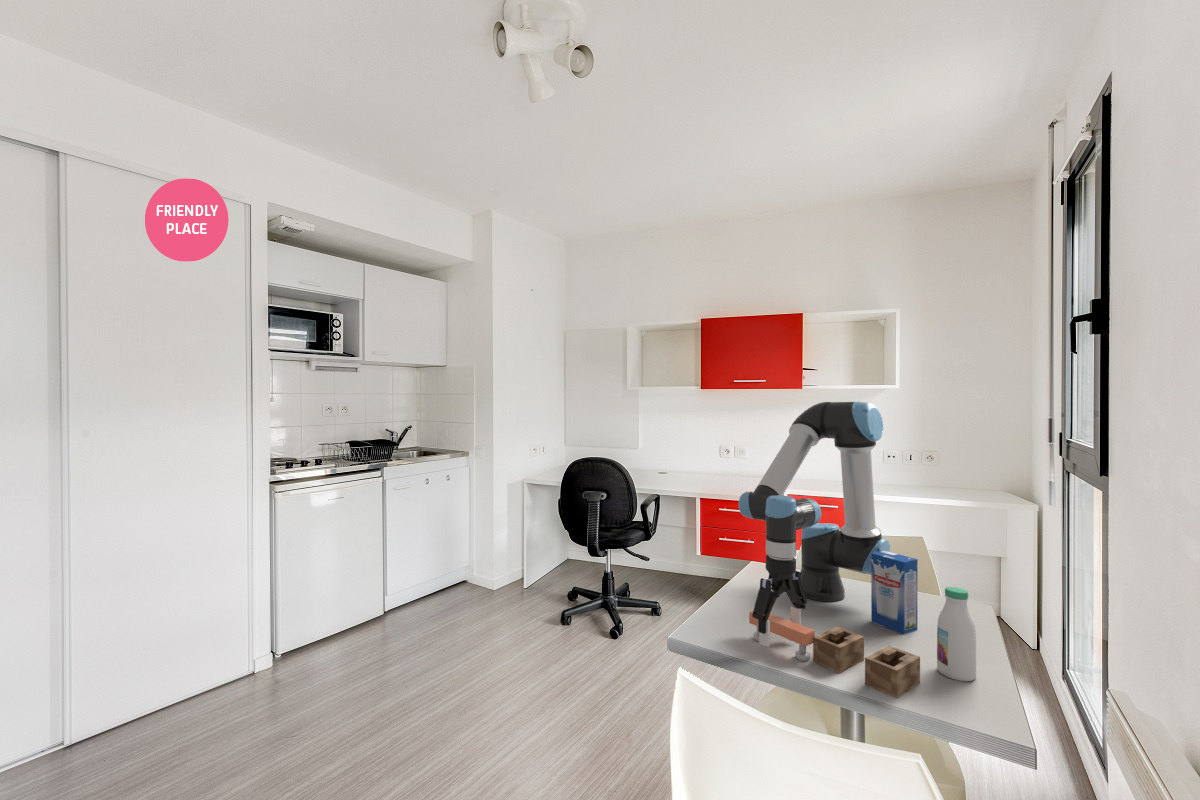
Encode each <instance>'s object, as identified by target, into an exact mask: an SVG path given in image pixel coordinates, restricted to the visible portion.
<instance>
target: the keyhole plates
mask: <svg viewBox="0 0 1200 800" xmlns="http://www.w3.org/2000/svg"><path fill="white" fill-rule="evenodd" d="M812 646H813V647H812V662H813V663H815V664H818V665H820V666H822V667H824V668H827V669H829V670H832V671H833V672H836V673H838V674H841V673H843V672H845V671H847V670H849V669H851V668H853V667H855V666H857V665H858V664H861V663H862V662H864V685H866V686H868V687H871V688H872V689H874V690H877V691H879V692H881V693H883V694H886V695H888V696H891V697H892V698H896V699H898V698H900V697H902V696H903V695H904V694H906V693H908V692H909V691H910V690H912V689H914V688H916V686H919V685H920V684H921V656H919V655H916V654H913V653H911V652H907V651H905V650H902V649H900V648H896V647H893V646H891V645H886V646H885V647H883V648H882V649H879V650H878V651H875V652H873V653H872V654H870V655H868V656H866V657H865V636H863V635H860V634H859V633H856V632H853V631H851V630H848V629H845V628H842V627H840V626H835V627H833V628H831V629H828V630H827V631H824V632H821V633H820V634H817V635H815V637H813V643H812Z"/></svg>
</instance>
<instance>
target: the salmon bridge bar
mask: <svg viewBox="0 0 1200 800" xmlns="http://www.w3.org/2000/svg"><path fill="white" fill-rule="evenodd" d="M748 614H749V615H748V622H749V623H748V624H751V625H753V626H756V632H753V637H752V638H753V641H755V642H758V643H759V631H758V619H756V618H753V617H752V614H753V610H751V611H749V613H748ZM757 614H758V613H757ZM764 615H765V614H764ZM768 620H769V621H770V633H772V634H775V635H776V636H779V637H781V638H784V639H787V640H789V641H791V642H794V643H795V644H798V645H799V646H798V647H799V648H798V650H796V651H795V659H796V660H798V661H800V662H804V663H805V662H809V661H810V660H811V653H810V652H808V651H807V646H810V645H813V637H815V636H816V635H815V633H816V632H815V631H816V630H815V629H812V628H809V627H807V626H804V625H802V624H801V625H800V624H797V623H794V622H792V621H791V620H789V619H786V618H784V617H781V616H778V615H776V614H773V613H770V615H769V617H768Z"/></svg>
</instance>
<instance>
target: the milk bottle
mask: <svg viewBox="0 0 1200 800" xmlns="http://www.w3.org/2000/svg"><path fill="white" fill-rule="evenodd" d="M944 594H945V595H944V597H945V603H944V604H943V607H942V610H941V611H940V612H939V615H938V618H937V624H936V625H937V627H936V628H937V629H936V631H937V632H936V634H937V635H936V653H937V654H936V667H937V670H938V672H939V673H940V674H941V675H943V676H945V677H947V678H950V679H952V680H956V681H960V682H973V681H975V679H976V678H977V629H976V623H975V620H974V617H973V616H972V614H971V611H970V609H969V606H968V602H969V592H968V590H966V589H964V588H962V587H957V586H946V587H944Z"/></svg>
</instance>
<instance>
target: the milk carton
mask: <svg viewBox="0 0 1200 800" xmlns="http://www.w3.org/2000/svg"><path fill="white" fill-rule="evenodd" d="M918 560H919V559H917V558H914V557H911V556H906V555H903V554H899V553H896V552H892V551H890V552H888V551H880V552H875V553H871V575H870V576H871V580H870V582H871V587H870V588H871V591H870V592H871V597H870V598H871V599H870V600H871V602H870V603H871V607H870V608H871V609H870V610H871V611H870V613H871V614H870V615H871V616H870V617H871V622H872V623H874V624H878V625H879V626H882V627H885V628H888V629H889V630H892V631H895V632H897V633H899V634H902V635H906V634H909V633H912V632H916V631H918V567H919V566H918Z"/></svg>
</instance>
